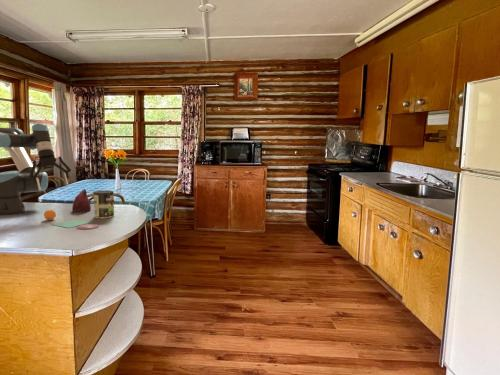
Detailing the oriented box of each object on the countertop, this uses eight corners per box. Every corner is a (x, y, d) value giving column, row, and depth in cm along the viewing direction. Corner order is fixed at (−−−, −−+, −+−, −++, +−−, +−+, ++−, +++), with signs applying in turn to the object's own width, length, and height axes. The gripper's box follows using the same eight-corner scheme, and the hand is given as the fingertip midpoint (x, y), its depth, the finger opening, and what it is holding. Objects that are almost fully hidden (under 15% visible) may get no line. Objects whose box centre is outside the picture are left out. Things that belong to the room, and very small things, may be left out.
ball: (41, 220, 175) (41, 210, 175) (52, 218, 180) (51, 208, 179) (48, 221, 173) (47, 211, 172) (58, 219, 178) (58, 209, 177)
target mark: (52, 225, 166) (52, 224, 166) (74, 220, 177) (74, 219, 177) (68, 228, 161) (68, 227, 161) (90, 223, 172) (90, 222, 172)
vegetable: (93, 215, 204) (100, 191, 203) (80, 216, 195) (86, 191, 193) (81, 209, 208) (87, 186, 206) (67, 210, 198) (73, 186, 196)
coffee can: (118, 215, 191) (117, 190, 189) (107, 219, 181) (106, 193, 179) (102, 214, 193) (101, 189, 191) (90, 218, 183) (89, 192, 181)
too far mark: (71, 227, 162) (71, 227, 162) (89, 223, 171) (89, 223, 171) (85, 230, 157) (85, 230, 157) (103, 226, 166) (103, 225, 166)
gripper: (17, 152, 179) (26, 190, 177) (69, 145, 190) (78, 180, 188) (20, 156, 185) (28, 193, 183) (70, 149, 197) (78, 183, 195)
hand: (53, 187), depth 186 cm, fingers open, 13 cm apart
